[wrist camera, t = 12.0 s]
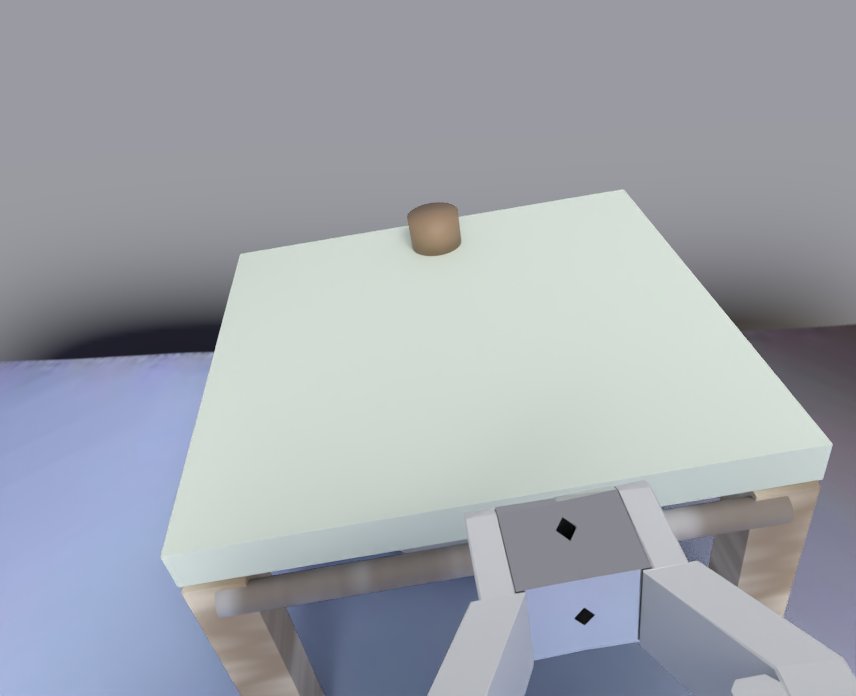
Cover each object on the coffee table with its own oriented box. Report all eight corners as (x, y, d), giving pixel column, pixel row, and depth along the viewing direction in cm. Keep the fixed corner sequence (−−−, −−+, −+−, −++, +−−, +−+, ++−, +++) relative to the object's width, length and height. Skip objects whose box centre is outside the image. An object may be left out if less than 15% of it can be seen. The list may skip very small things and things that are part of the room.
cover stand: (275, 770, 28) (178, 607, 21) (301, 435, 43) (250, 283, 37) (772, 687, 28) (829, 498, 21) (617, 382, 43) (622, 220, 37)
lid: (178, 587, 21) (139, 521, 20) (248, 279, 37) (230, 225, 35) (822, 479, 21) (844, 402, 19) (622, 215, 37) (624, 159, 35)
